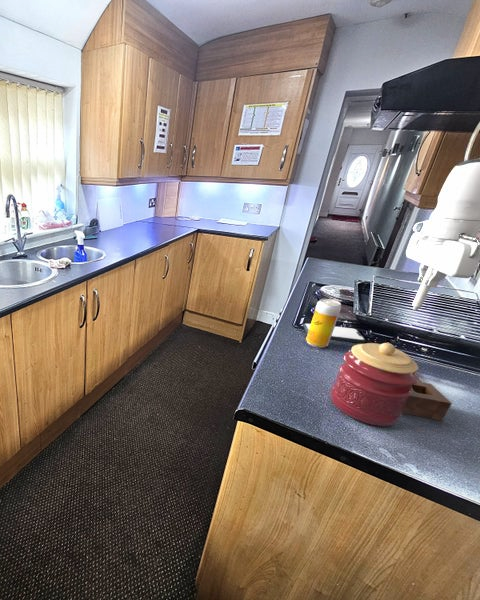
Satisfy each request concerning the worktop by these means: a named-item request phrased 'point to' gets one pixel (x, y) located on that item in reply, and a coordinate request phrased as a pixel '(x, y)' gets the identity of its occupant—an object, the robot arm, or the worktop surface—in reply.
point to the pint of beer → (323, 322)
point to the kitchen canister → (374, 383)
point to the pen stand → (426, 402)
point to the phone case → (343, 334)
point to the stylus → (422, 290)
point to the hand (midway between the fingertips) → (426, 284)
